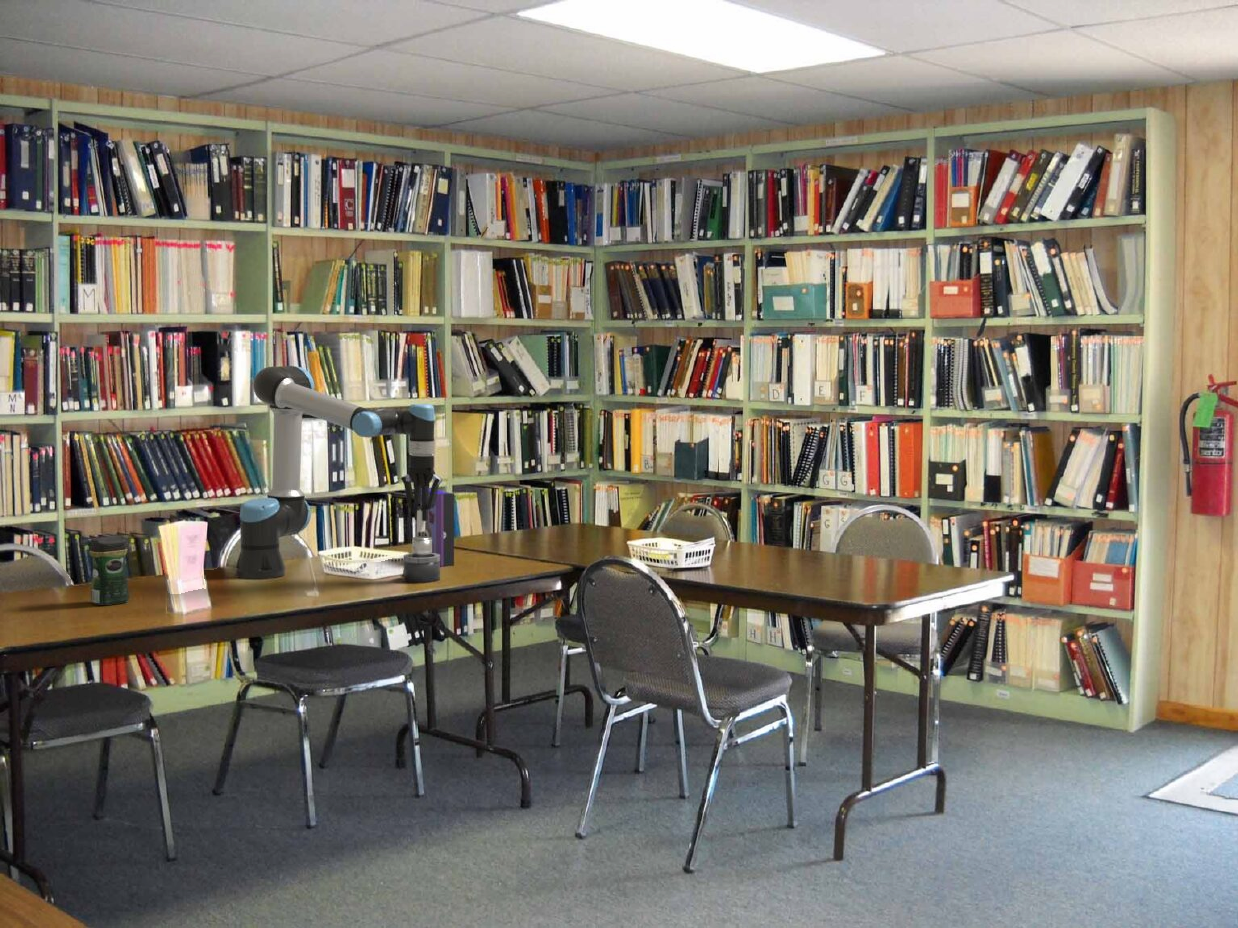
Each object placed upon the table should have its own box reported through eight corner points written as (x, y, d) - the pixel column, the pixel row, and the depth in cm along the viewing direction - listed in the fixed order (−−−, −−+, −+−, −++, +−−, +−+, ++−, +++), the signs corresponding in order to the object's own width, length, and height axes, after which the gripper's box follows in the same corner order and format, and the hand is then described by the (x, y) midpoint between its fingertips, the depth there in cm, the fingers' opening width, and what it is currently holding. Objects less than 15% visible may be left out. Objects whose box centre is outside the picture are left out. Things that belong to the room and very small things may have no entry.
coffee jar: (120, 598, 376) (119, 533, 374) (133, 602, 370) (131, 536, 368) (86, 602, 369) (84, 536, 367) (98, 607, 363) (96, 539, 362)
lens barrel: (397, 581, 408) (397, 557, 407) (413, 575, 418) (413, 551, 417) (430, 583, 404) (430, 559, 404) (445, 577, 415) (445, 553, 414)
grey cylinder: (408, 561, 409) (408, 538, 408) (417, 558, 414) (417, 535, 414) (426, 562, 407) (426, 539, 406) (435, 559, 412) (435, 537, 412)
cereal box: (415, 559, 448) (415, 488, 446) (427, 558, 451) (427, 487, 449) (441, 567, 434) (441, 493, 432) (454, 565, 437) (454, 492, 435)
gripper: (396, 454, 406) (396, 531, 408) (435, 456, 402) (435, 534, 404) (407, 452, 413) (407, 528, 415) (446, 454, 409) (445, 531, 412)
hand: (421, 531), depth 410 cm, fingers closed
